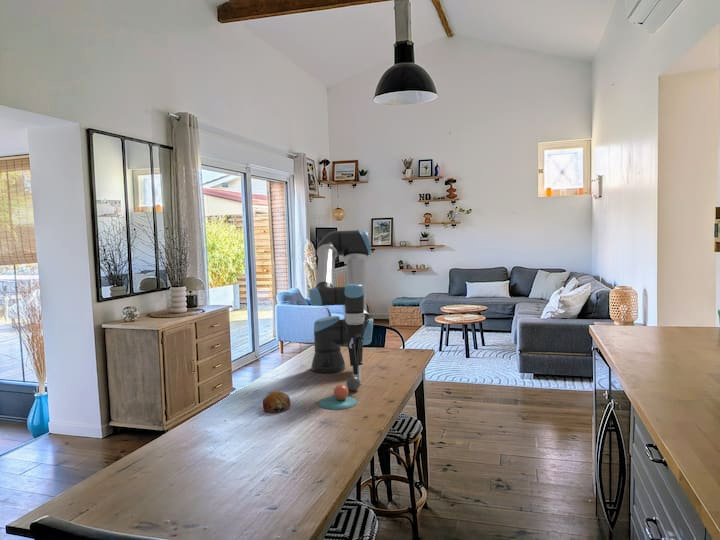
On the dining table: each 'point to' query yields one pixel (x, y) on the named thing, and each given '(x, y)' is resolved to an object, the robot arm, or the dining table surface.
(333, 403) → the teal mark
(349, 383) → the gray ball
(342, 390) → the red ball
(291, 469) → the dining table surface
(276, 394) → the bread roll
